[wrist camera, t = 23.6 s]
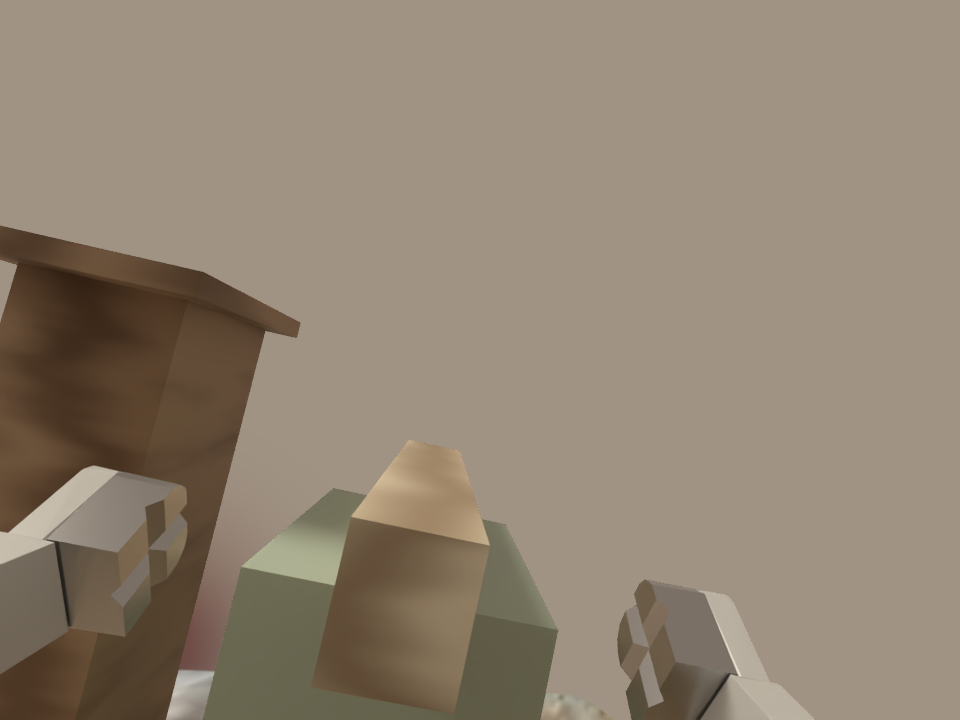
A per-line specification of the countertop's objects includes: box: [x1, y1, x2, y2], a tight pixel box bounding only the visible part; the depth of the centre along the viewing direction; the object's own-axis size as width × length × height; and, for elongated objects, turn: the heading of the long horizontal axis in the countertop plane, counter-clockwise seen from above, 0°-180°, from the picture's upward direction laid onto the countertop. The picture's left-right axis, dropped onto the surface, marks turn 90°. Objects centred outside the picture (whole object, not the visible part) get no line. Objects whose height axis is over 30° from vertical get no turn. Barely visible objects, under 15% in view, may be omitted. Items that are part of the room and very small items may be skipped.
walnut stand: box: [0, 226, 300, 720], centre depth 26 cm, size 10×14×26 cm
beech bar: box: [311, 440, 490, 714], centre depth 21 cm, size 3×20×4 cm, turn 4°
